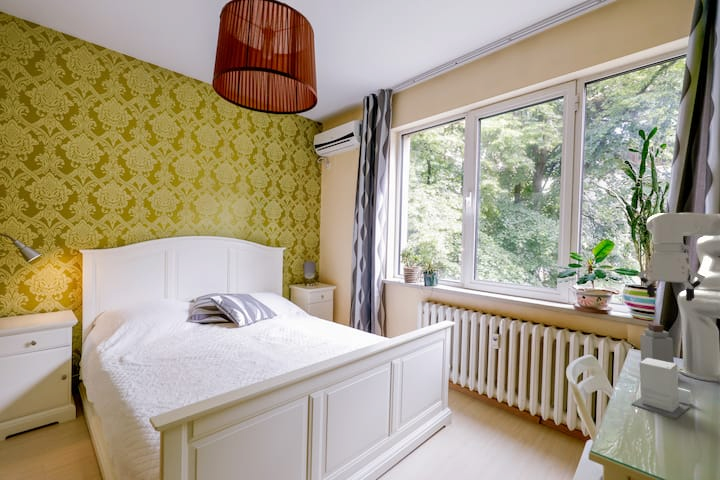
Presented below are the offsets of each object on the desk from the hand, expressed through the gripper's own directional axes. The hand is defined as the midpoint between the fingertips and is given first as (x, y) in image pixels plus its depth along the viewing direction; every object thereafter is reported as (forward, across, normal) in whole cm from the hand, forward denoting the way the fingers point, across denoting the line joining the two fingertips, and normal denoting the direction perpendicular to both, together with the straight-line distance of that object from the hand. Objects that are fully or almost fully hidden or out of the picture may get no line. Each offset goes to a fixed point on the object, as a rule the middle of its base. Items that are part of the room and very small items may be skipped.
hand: (669, 298), depth 112 cm
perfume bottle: (+31, +8, -13) cm, 34 cm away
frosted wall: (+30, -1, +11) cm, 32 cm away
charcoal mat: (+30, -2, +20) cm, 36 cm away
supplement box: (+30, -2, +20) cm, 36 cm away
